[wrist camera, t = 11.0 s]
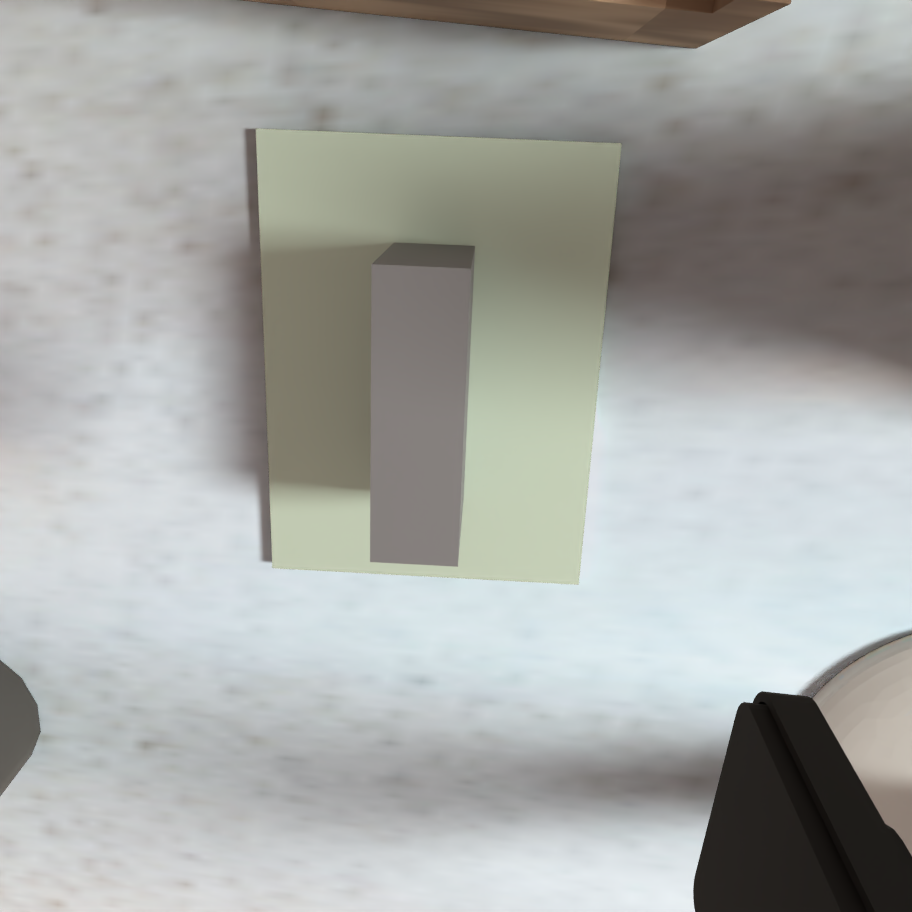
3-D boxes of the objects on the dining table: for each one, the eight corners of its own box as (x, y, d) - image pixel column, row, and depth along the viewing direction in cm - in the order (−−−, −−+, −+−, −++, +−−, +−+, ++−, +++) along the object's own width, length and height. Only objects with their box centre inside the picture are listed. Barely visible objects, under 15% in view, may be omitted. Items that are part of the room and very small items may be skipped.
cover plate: (616, 143, 25) (652, 142, 20) (575, 570, 30) (595, 669, 24) (264, 129, 25) (199, 124, 20) (279, 555, 30) (230, 648, 25)
